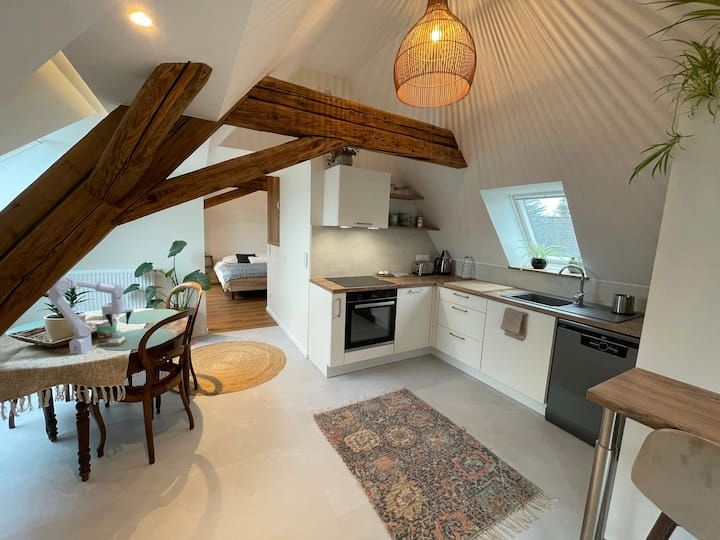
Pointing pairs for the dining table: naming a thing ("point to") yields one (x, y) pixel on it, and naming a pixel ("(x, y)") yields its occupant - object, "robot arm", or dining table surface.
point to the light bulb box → (108, 308)
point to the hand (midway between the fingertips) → (119, 324)
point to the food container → (106, 329)
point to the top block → (116, 340)
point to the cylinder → (117, 334)
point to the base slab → (117, 343)
